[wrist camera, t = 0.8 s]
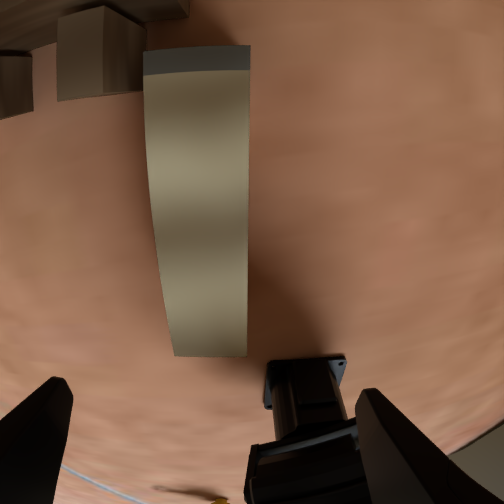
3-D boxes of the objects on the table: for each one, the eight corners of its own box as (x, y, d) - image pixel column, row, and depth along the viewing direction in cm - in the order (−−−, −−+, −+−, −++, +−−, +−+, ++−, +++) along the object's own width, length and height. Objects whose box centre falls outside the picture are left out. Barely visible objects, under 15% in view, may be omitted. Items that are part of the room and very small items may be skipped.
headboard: (188, 87, 15) (147, 84, 8) (-12, 123, 14) (-99, 156, 7) (189, -7, 12) (155, -71, 5) (-14, 47, 12) (-101, 54, 5)
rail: (244, 302, 21) (246, 356, 17) (185, 302, 21) (174, 356, 17) (246, 58, 14) (250, 45, 10) (169, 61, 14) (143, 51, 10)
